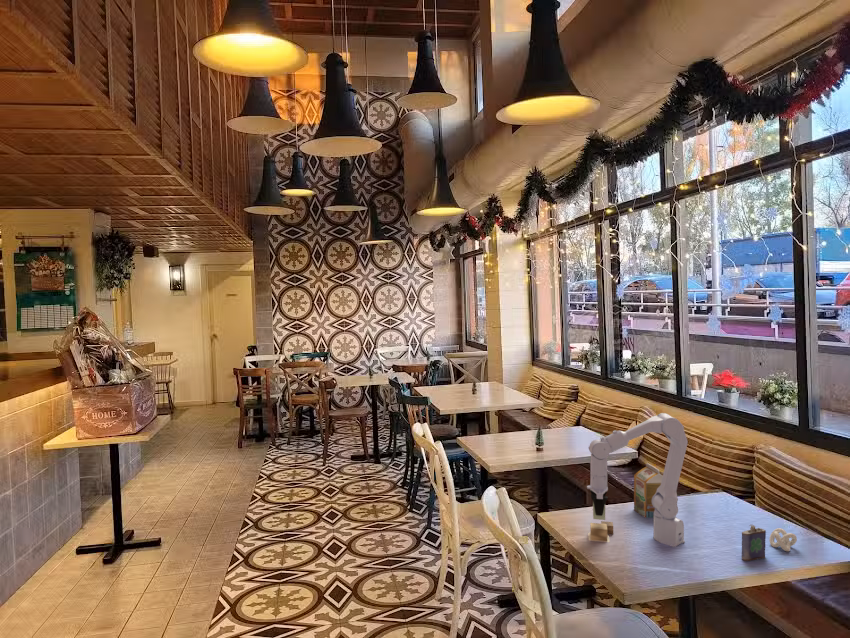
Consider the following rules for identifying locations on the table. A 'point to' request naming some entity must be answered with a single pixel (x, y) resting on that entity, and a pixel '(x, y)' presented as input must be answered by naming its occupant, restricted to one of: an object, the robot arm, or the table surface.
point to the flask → (753, 544)
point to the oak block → (598, 531)
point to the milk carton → (646, 490)
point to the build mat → (598, 540)
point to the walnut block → (608, 527)
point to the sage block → (597, 515)
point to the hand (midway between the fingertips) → (598, 513)
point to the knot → (782, 539)
